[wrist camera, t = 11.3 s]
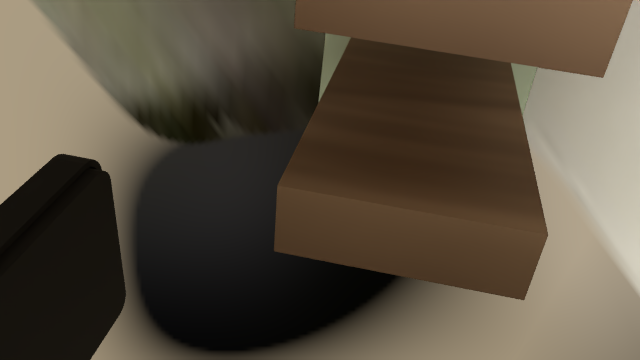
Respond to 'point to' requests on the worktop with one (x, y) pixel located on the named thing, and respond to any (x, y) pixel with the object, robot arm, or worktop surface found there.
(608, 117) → the worktop surface
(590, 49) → the domino
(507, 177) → the domino
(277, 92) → the worktop surface
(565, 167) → the worktop surface
